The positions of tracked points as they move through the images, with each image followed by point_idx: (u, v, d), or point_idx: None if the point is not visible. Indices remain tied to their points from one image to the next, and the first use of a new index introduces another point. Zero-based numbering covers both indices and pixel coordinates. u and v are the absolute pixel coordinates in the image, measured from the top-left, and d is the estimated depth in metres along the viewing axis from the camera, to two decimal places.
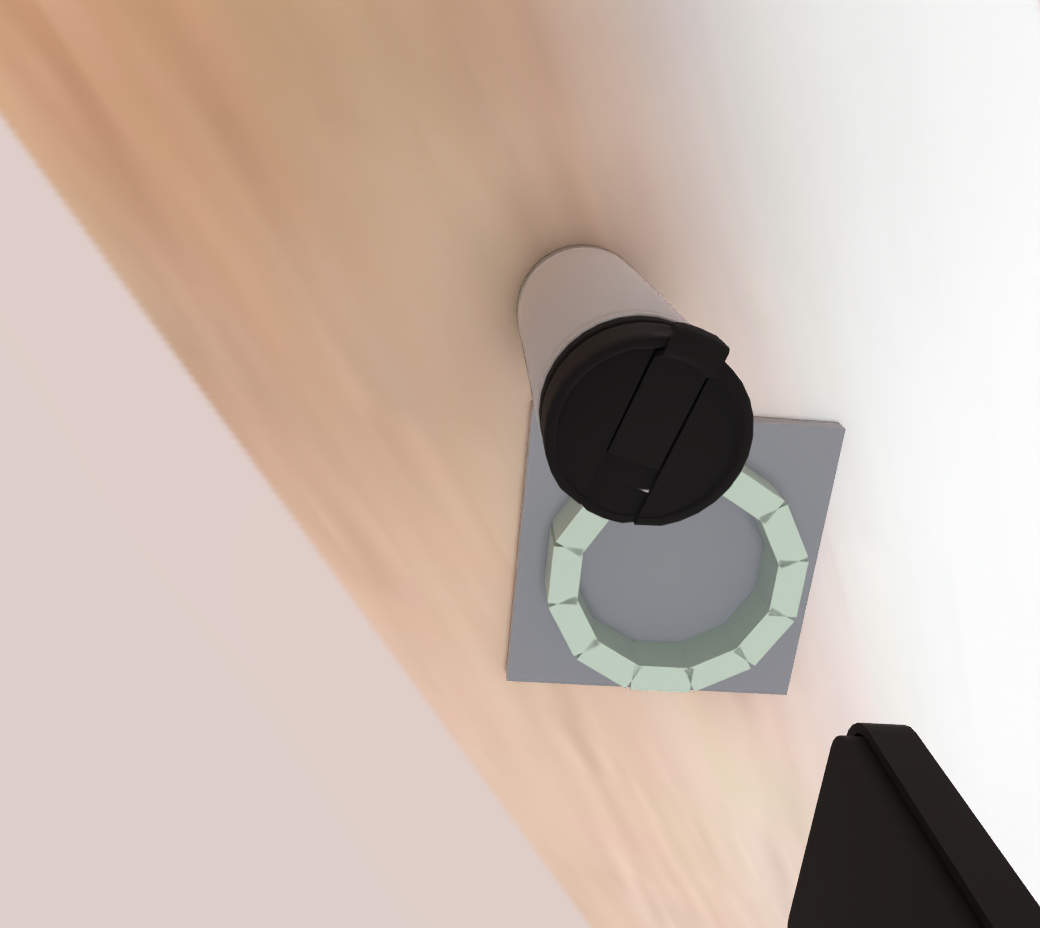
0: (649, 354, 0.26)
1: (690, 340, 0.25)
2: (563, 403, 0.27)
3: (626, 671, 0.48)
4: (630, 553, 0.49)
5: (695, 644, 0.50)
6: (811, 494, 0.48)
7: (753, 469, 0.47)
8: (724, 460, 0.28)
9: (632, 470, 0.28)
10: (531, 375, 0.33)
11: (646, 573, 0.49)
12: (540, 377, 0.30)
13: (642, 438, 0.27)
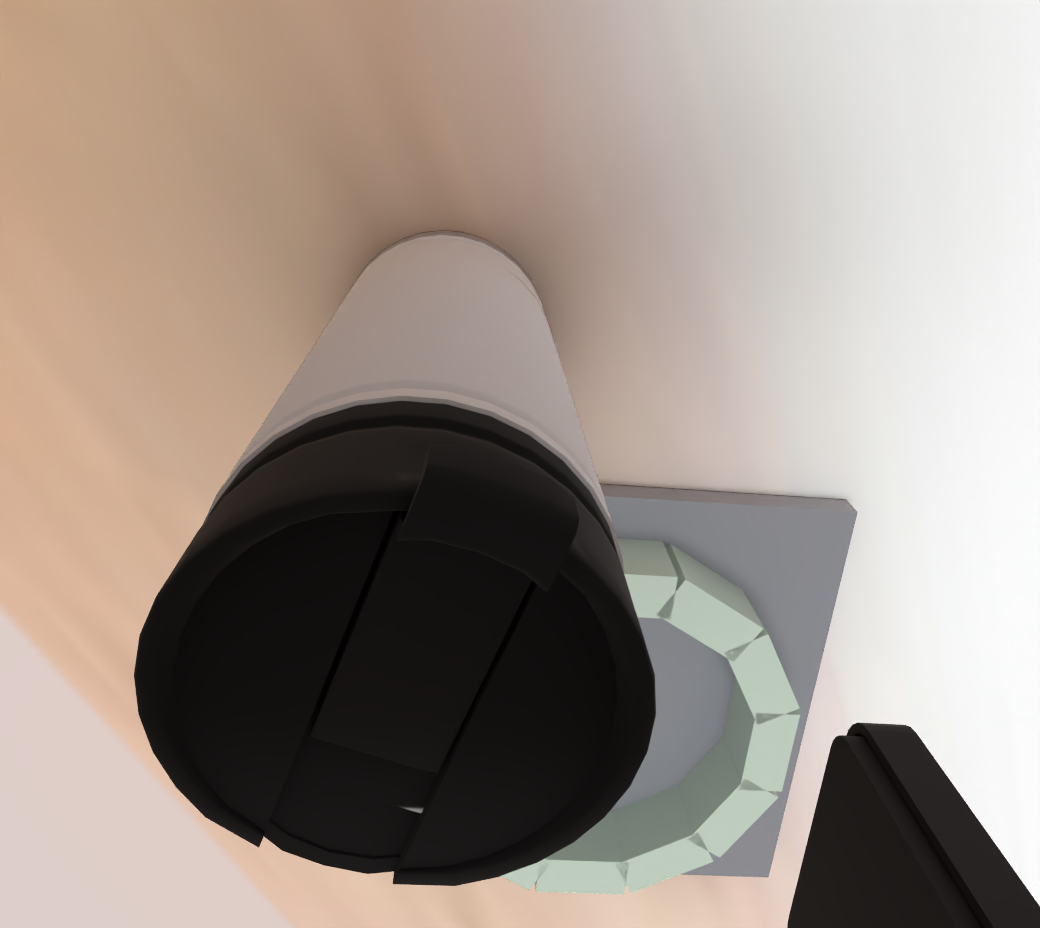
0: (381, 523, 0.10)
1: (468, 502, 0.09)
2: (178, 637, 0.11)
3: (529, 867, 0.33)
4: None
5: (634, 818, 0.34)
6: (805, 607, 0.32)
7: (717, 571, 0.31)
8: (592, 754, 0.12)
9: (379, 769, 0.12)
10: None
11: None
12: None
13: (390, 708, 0.11)
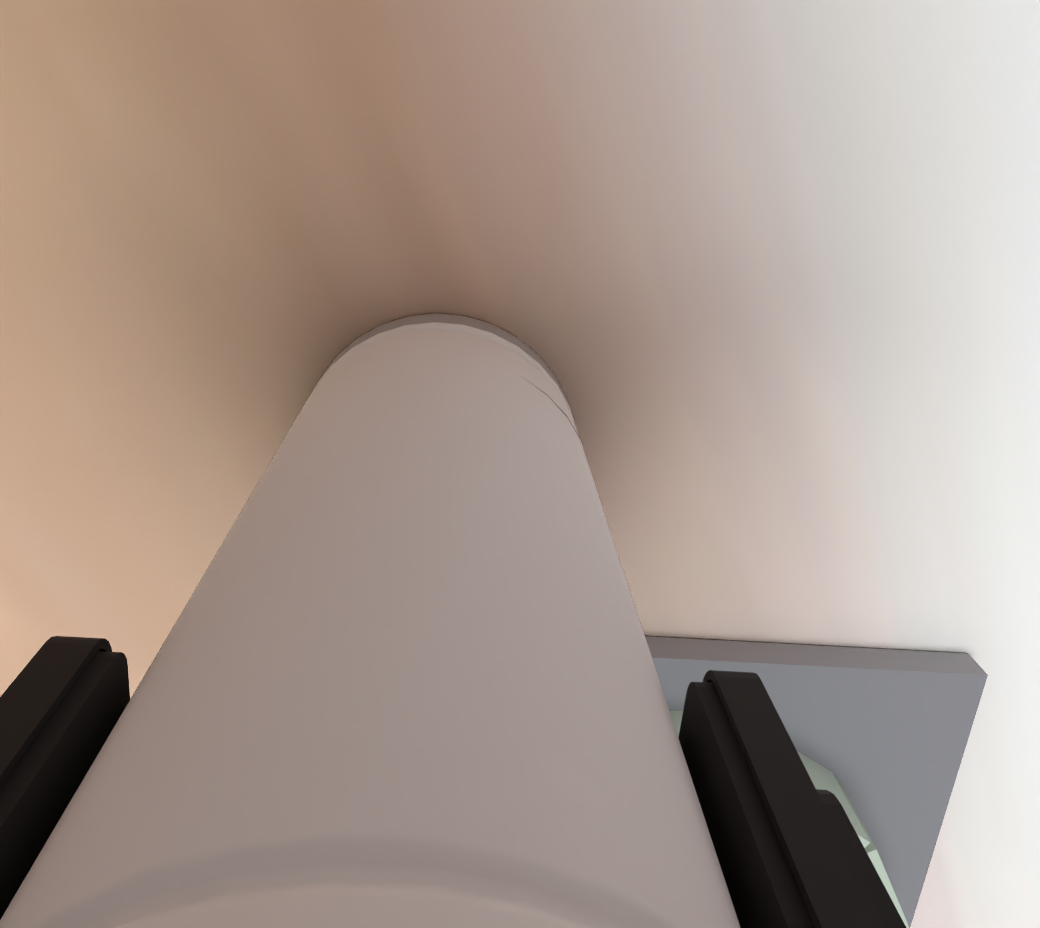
0: None
1: None
2: None
3: None
4: None
5: None
6: (914, 792, 0.24)
7: (800, 750, 0.24)
8: None
9: None
10: None
11: None
12: None
13: None
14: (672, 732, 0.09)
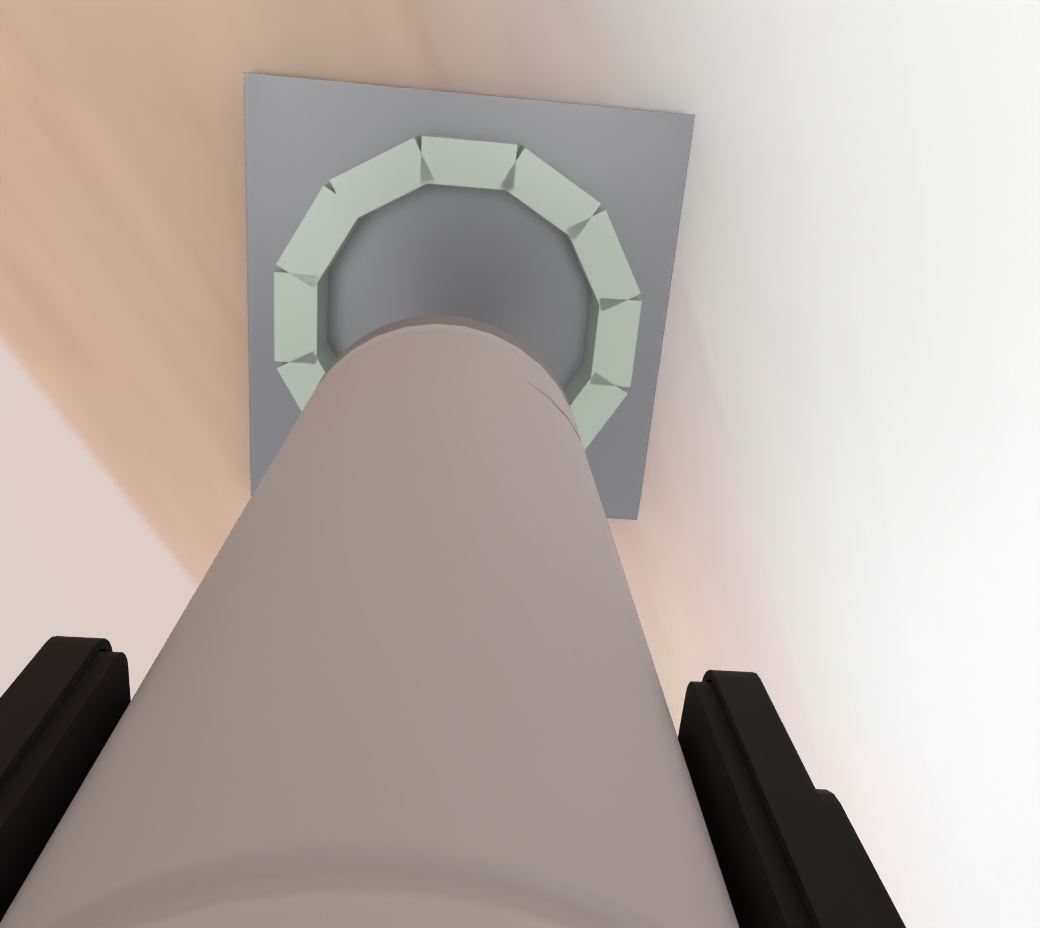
0: None
1: None
2: None
3: None
4: (405, 306, 0.35)
5: None
6: (652, 218, 0.34)
7: (568, 177, 0.34)
8: None
9: None
10: None
11: None
12: None
13: None
14: (673, 736, 0.09)
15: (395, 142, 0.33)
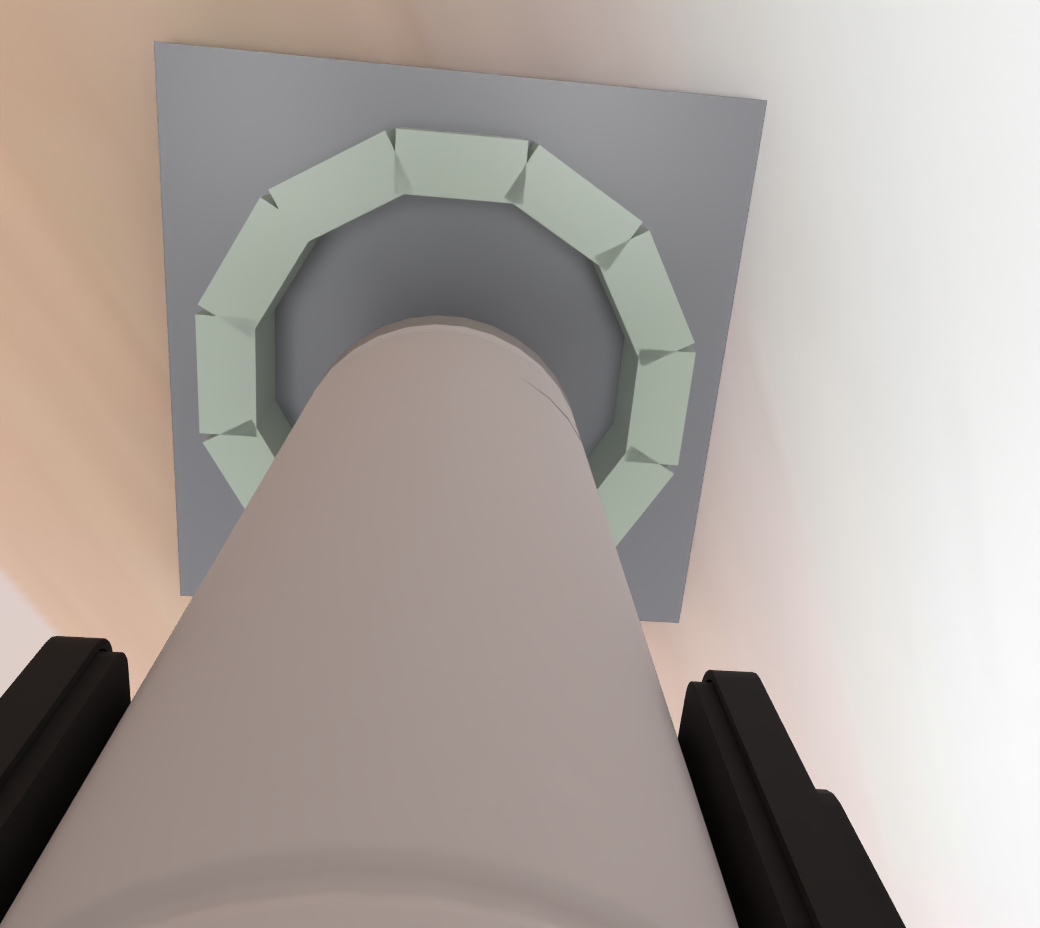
0: None
1: None
2: None
3: None
4: None
5: None
6: (707, 238, 0.26)
7: (595, 185, 0.25)
8: None
9: None
10: None
11: None
12: None
13: None
14: (673, 738, 0.09)
15: (362, 137, 0.24)
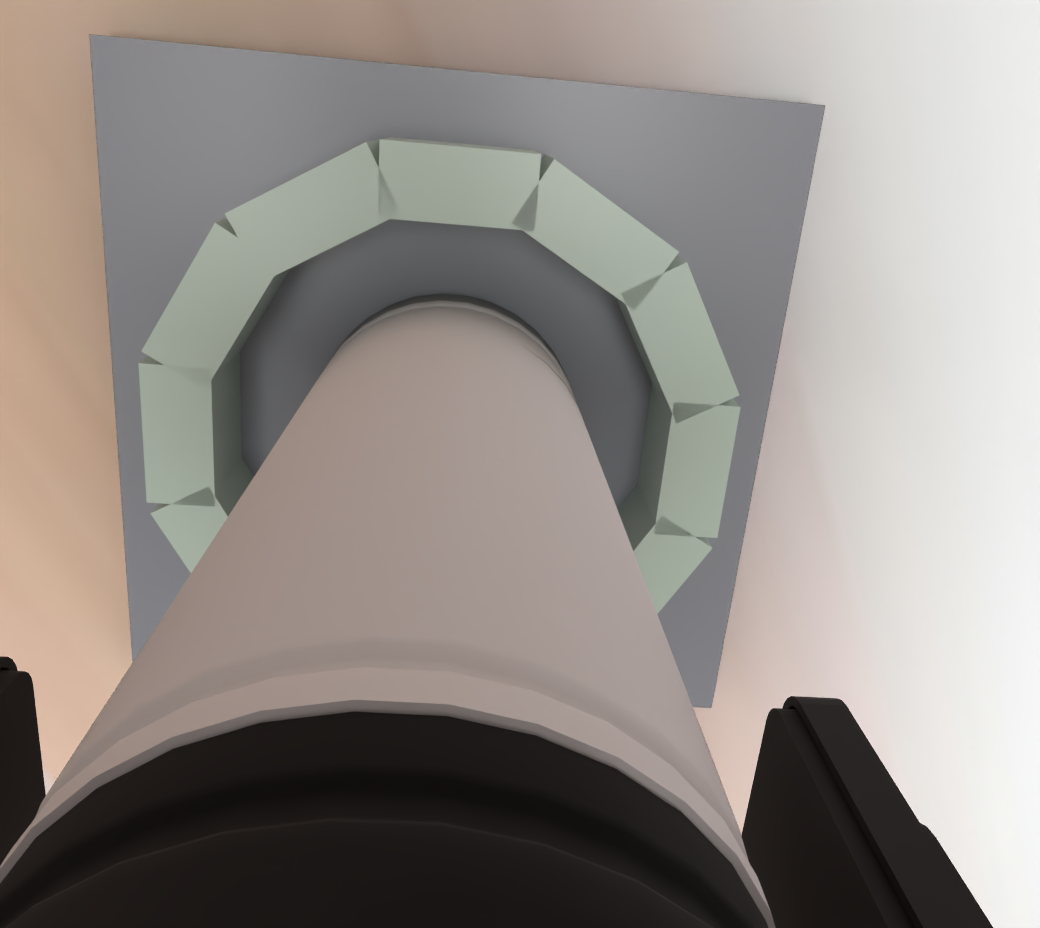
0: None
1: None
2: None
3: None
4: None
5: None
6: (751, 269, 0.22)
7: (619, 205, 0.21)
8: None
9: None
10: None
11: None
12: None
13: None
14: (657, 621, 0.10)
15: (341, 149, 0.20)
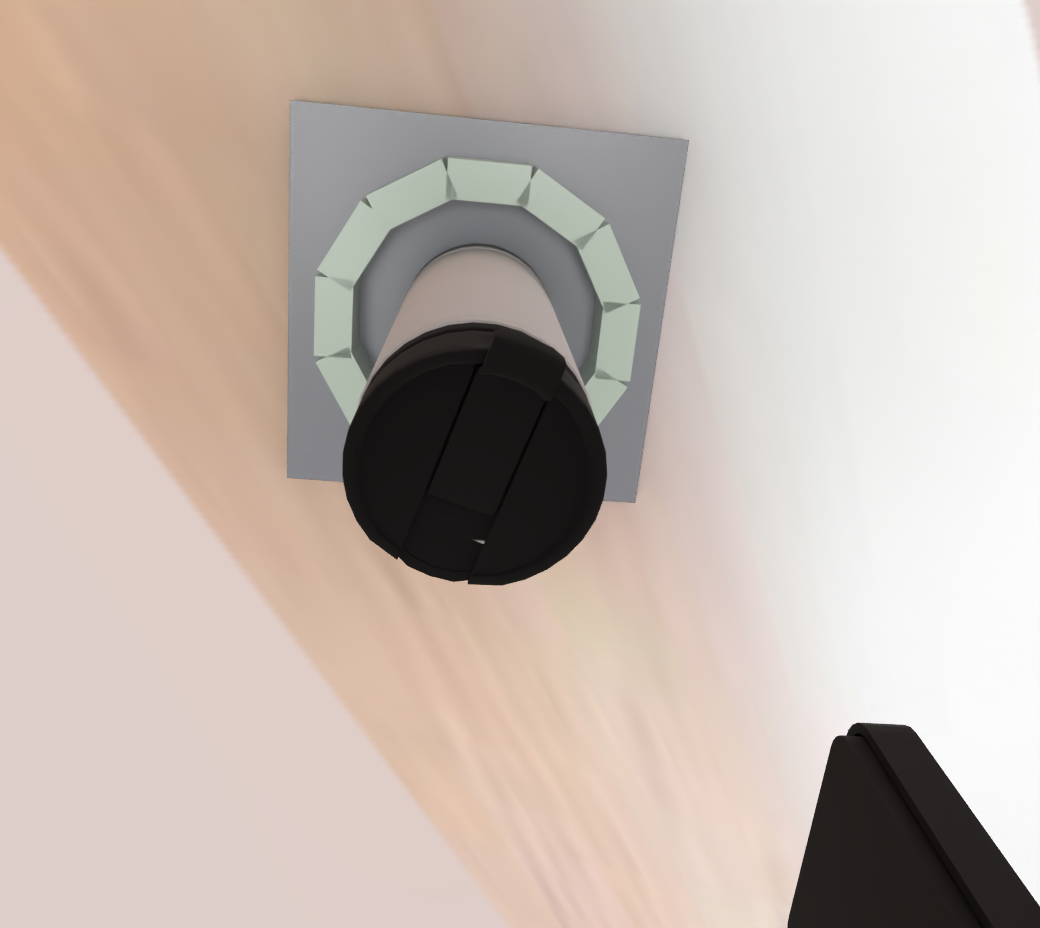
0: (469, 371, 0.21)
1: (514, 353, 0.20)
2: (365, 433, 0.21)
3: None
4: None
5: None
6: (651, 231, 0.39)
7: (576, 194, 0.38)
8: (575, 504, 0.22)
9: (462, 516, 0.22)
10: None
11: None
12: None
13: (470, 476, 0.22)
14: (569, 351, 0.27)
15: (422, 162, 0.37)
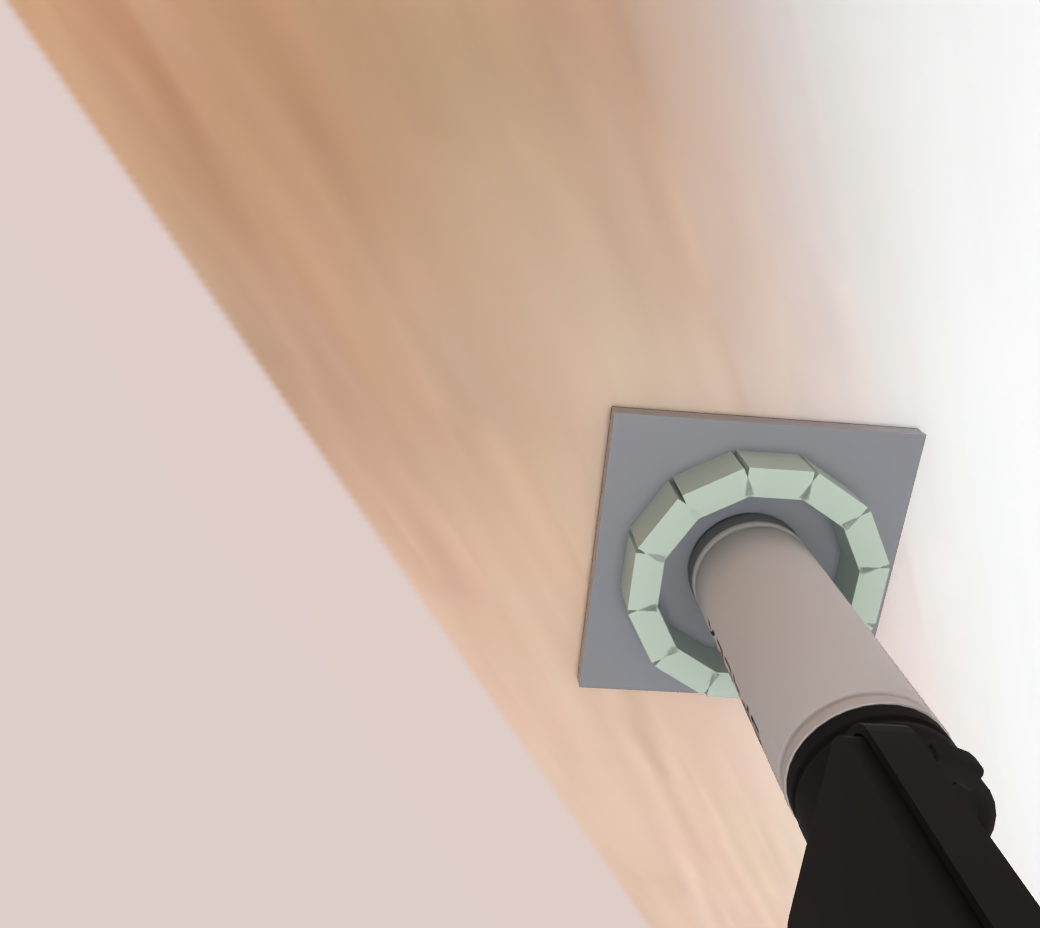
0: None
1: (951, 765, 0.29)
2: None
3: (703, 678, 0.48)
4: None
5: None
6: (890, 501, 0.48)
7: (833, 475, 0.47)
8: None
9: None
10: (757, 713, 0.36)
11: None
12: (783, 743, 0.34)
13: None
14: None
15: (714, 454, 0.47)
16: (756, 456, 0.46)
